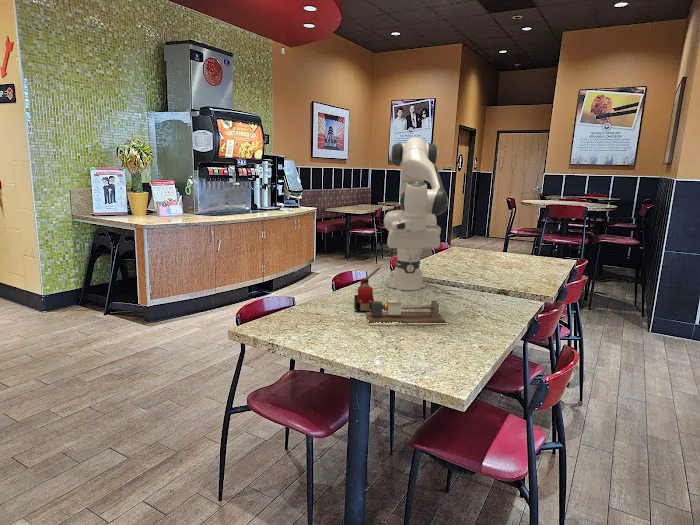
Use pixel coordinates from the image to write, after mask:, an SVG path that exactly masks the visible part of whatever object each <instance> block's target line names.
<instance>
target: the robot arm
mask: <svg viewBox="0 0 700 525" xmlns="http://www.w3.org/2000/svg"><path fill="white" fill-rule="evenodd" d="M389 158H390V161H391V164H392V165H393V166H395V167H402V168H401V175H400V184H399V185H400V189H399V197H400V209H395V210H389V211H387V212H386V214H385V215H384V217H383V225H384V227H385V229H386V230H387V231H388V235H387V236H388V237H387V242H386V245H387V246H388V248H389V249H396V250H397V252H396V253H397V256H396V261H395V268H394V269H393V271H391V272H390V273H389V275H390V277H391V278H389V279H388V286H387V287H388V288H391V289H395V290H400V291H417V290H420V289H422V288H423V289H424V288H426V285H425V284H424V283H423V270H422V269H420V268H421V260H420V255H421V254H422V252H423V249H439V248H440V247H441V237H440V235H441V232H442V228H441V226H440V225H438V224H437V222H438V221H437V216H441V215H442V214H443V213H445V211H447V209H448V207H449V198H448V194H447V192H446V190H445V188H444V185H443V181H442V177H441V176H440V175H441V174H440V172H439V169H438V167H437V165H436V164H437V162H438V159H439V150H438V147H437V145H436V144H435V143H430V142H429V143H426V142H425V141H424V139H422V138H421V137H416V136H414V137H410V138H408V140H406V142H405V143H404V142H403V143H401V142H400V143H399V142H398V143H395V144H393V145H392V147H391V149H390V151H389ZM424 181H426V182H428V183H429V184H430V187H431V189H430V188H429V189H428V185H427V184H428V183H426V182H424Z"/></svg>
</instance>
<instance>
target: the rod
mask: <svg viewBox="0 0 700 525" xmlns="http://www.w3.org/2000/svg"><path fill="white" fill-rule="evenodd" d="M387 309H388V305H387V303H383V302H382V301H379V300H378V301H375V300H374V301H371V311H370V312H371V317H372V318H382V312H387ZM431 309H433V305H431V304H401V310H431Z"/></svg>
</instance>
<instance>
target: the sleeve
mask: <svg viewBox="0 0 700 525" xmlns="http://www.w3.org/2000/svg"><path fill="white" fill-rule="evenodd" d="M402 293H403V292H402V290H400V289H395V299H386V304H387V305H388V309H387V311H386V312H388V315H401V312H402V309H401V305H402V298H403V297H402V296H403V294H402Z"/></svg>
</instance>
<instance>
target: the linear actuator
mask: <svg viewBox="0 0 700 525" xmlns="http://www.w3.org/2000/svg"><path fill="white" fill-rule="evenodd" d="M430 305H433V309H430V311H401V315H388V312H387V311H382V318H372V317H371V311H365V316H366V315H367V317H368V320H369V323H374V322H375V323H376V322H378V323H379V322H381V323H383V322H385V323H387V322H388V323H389V322H391V323H392V322H399V323H400V322H401V323H446V324H447V321H446V320H445V318H444V317H443V316H442V315H441V314H440V313H439V312H440V303H439V302H438V301H437V300H431V303H430ZM367 317H366V318H367ZM368 320H367V321H368ZM369 323H368V324H369Z"/></svg>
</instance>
